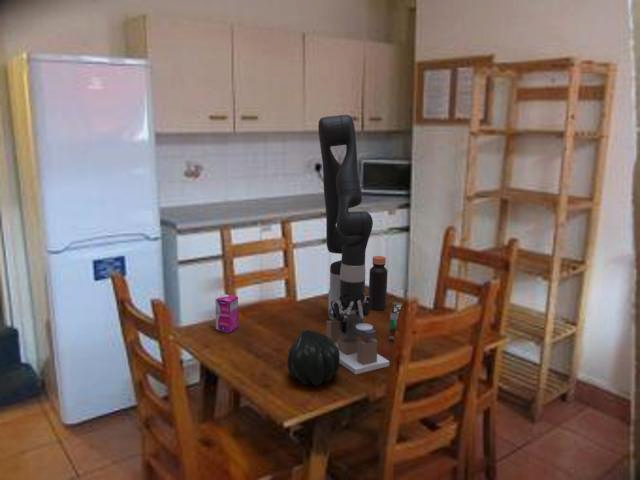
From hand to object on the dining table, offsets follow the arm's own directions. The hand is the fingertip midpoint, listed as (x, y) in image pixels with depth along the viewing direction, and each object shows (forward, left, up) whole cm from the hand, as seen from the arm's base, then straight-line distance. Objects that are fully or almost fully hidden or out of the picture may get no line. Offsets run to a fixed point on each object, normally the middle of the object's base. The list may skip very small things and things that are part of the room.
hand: (350, 330), depth 172 cm
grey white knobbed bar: (0, 0, -1) cm, 1 cm away
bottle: (-32, +33, -8) cm, 47 cm away
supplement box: (-37, -26, -8) cm, 46 cm away
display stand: (0, 0, -8) cm, 8 cm away
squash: (+9, -18, -8) cm, 21 cm away
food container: (-5, +23, -8) cm, 25 cm away
